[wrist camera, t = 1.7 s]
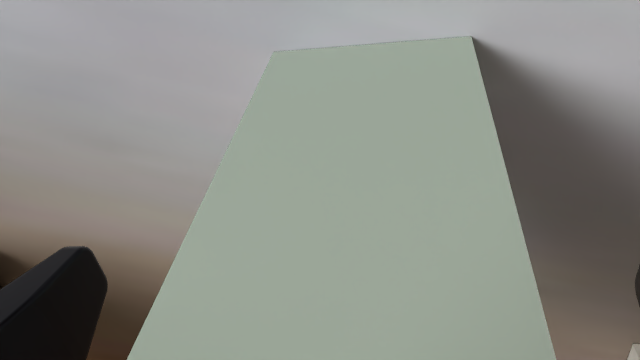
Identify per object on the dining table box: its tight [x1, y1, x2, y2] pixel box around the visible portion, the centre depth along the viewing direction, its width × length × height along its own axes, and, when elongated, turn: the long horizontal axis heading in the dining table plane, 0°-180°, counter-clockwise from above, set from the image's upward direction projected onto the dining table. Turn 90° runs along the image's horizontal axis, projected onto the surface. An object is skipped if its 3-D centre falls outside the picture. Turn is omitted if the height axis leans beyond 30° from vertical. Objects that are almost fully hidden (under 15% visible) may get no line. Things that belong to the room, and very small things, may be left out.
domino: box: [127, 36, 556, 360], centre depth 10 cm, size 2×5×10 cm, turn 97°
